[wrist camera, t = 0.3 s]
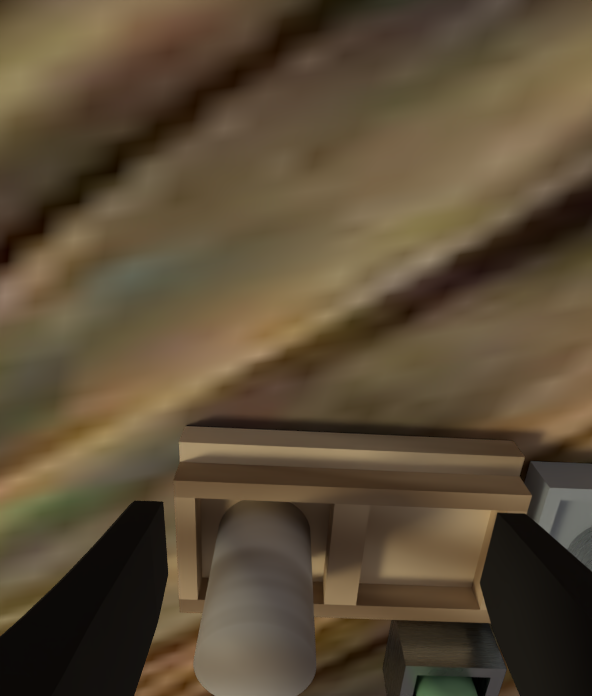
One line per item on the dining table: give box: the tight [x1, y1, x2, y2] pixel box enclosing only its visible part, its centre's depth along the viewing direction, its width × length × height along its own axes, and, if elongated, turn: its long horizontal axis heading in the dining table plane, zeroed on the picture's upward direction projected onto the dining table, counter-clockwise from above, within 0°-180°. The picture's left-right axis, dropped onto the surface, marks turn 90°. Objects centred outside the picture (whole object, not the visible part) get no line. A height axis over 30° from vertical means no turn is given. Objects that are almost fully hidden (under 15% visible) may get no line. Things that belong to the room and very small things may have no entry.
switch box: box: [383, 620, 507, 696], centre depth 25 cm, size 5×5×3 cm
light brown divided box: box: [174, 426, 532, 696], centre depth 20 cm, size 9×14×7 cm, turn 87°
